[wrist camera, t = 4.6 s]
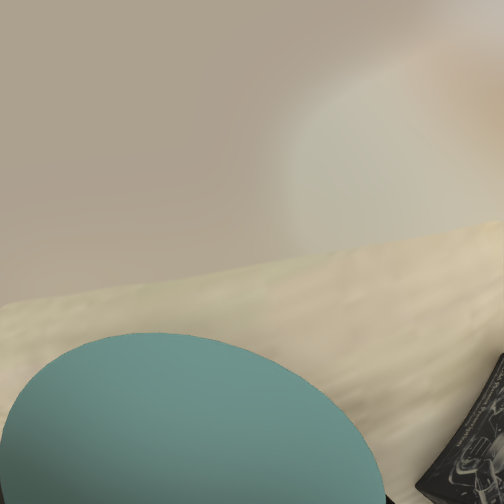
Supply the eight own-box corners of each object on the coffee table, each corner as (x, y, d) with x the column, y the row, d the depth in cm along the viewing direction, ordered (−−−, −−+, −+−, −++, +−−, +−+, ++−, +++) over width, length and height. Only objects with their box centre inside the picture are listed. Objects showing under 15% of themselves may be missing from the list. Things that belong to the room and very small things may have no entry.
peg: (252, 467, 13) (288, 665, 1) (179, 440, 14) (-16, 535, 1) (279, 401, 15) (438, 405, 2) (207, 375, 15) (69, 270, 3)
